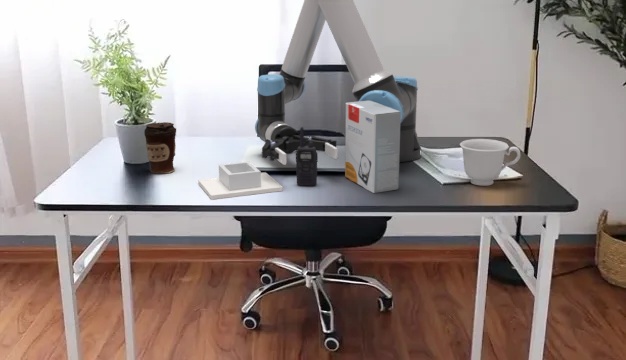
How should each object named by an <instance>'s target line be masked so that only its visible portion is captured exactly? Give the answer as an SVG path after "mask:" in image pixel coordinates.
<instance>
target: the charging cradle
mask: <svg viewBox="0 0 626 360" xmlns="http://www.w3.org/2000/svg"><path fill="white" fill-rule="evenodd" d="M197 181H198V185H199V186H200V188H201V189H202V190H203V191H204V192H205V194H206V195H207V196H208V198H210V200H220V199H227V198H235V197H243V196H251V195H258V194H268V193H277V192H282V191H284V186H282V185H281V184H280V183H279V182H278V181H276V180H275V179H274V178H273V177H272V176H271V175H269V174H268V173H267V172H266V171H265V172H261V170H259V168H257V167H256V166H255V165H254V164H253V163H251V162H250V161H240V162H234V163H233V162H231V163H225V164H224V163H223V164H218V177H213V178H212V177H211V178H202V179H198V180H197Z"/></svg>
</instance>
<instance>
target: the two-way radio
mask: <svg viewBox="0 0 626 360" xmlns="http://www.w3.org/2000/svg"><path fill="white" fill-rule="evenodd" d="M299 132H300V133H299V135H300V146H299V147H298V148H297V151H295V165H296V166H295V171H296V172H295V173H296V174H295V175H296V184H297V185H298V186H311V187H313V186H317V183H318V162H319V160H318V159H319V157H318V156H319V155H318V151H316V148H315V147H313V142H311V141H310V142H309V145H306V146H304V137H305V134H304V132H305V131H304V127H303V126H301V127H300V128H299Z"/></svg>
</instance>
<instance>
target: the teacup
mask: <svg viewBox="0 0 626 360" xmlns="http://www.w3.org/2000/svg"><path fill="white" fill-rule="evenodd" d="M459 146H460V147H461V149H462V156H463V157H462V158H463V168H464V172H465V174H466V176H468V177H469V178H470V183H471V184H473V185H476V186H480V187H481V186H484V187H485V186H486V187H487V186H491V185H493V184H494V180H495V179H497V178H498V177H499V176H500V175H501V172H502V171H503V170H504V169H505V168H506V167H509V166H512V165H515V164H516V163H518V162H519V160H520V159H521V151H520V149H519V147H517V146H509V145H508V143H507V142H504V141H500V140H497V139H490V138H488V139H487V138H472V139H465V140H463V141H461V142H460V143H459ZM507 150H508V151H507ZM511 152H515V153H516V157H515V158H514V159H513V160H511V161H507V162H506V163H504V161H505V160H504V159H505V155H506V156H510V154H511Z"/></svg>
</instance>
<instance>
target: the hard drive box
mask: <svg viewBox="0 0 626 360" xmlns="http://www.w3.org/2000/svg"><path fill="white" fill-rule="evenodd" d="M344 104H345V117H344V118H345V121H344V122H345V125H344V127H345V128H344V129H345V136H344V137H345V138H344V139H345V143H344V145H345V146H344V149H345V150H344V151H345V152H344V153H345V154H344V155H345V156H344V169H345V170H344V176H345V178H346V179H348V180H349V181H351V182H354V183H355V184H357V185H358V186H361V187H362V188H363V189H365V190H367V191H369V192H370V193H373V194H376V193H382V192H383V193H384V192H389V191H394V190H395V191H396V190H399V184H400V183H399V179H400V162H399V154H400V120H401V112H400V111H398V110H395V109H392V108H390V107H387V106H384V105H381V104H379V103H376V102H373V101H370V100H368V101H358V102H357V101H348V102H345V103H344Z"/></svg>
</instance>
